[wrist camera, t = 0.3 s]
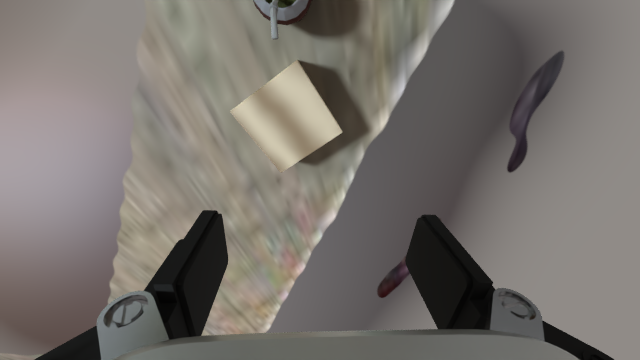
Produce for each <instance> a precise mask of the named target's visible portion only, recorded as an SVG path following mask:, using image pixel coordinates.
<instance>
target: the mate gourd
mask: <svg viewBox="0 0 640 360" xmlns="http://www.w3.org/2000/svg"><path fill="white" fill-rule="evenodd" d="M311 1H312V0H253V2H254V4H255V6H256V8H257V9H258V10H259V11H260V13H261V14H262V15H263V16H264V17H265V18H267V19H268V20H270V21H271V32H272V39H278V27H277V24H283V25H289V24H292V23H295V22H298V21H300V20H301V19H302V18H303V17H304V16H305V14H306V13H307V11H308V9H309V6H310V4H311Z"/></svg>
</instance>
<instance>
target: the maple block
mask: <svg viewBox="0 0 640 360" xmlns="http://www.w3.org/2000/svg"><path fill="white" fill-rule="evenodd" d="M230 112H231V114H232V115H233V116H234V117H235V118H236V120H237V121H238V122H239V123H240V124H241V126H242V127H243V128H244V129H245V130H246V131H247V133H248V134H249V135H250V136H251V137H252V139H253V140H254V141H255V142H256V143H257V145H258V146H259V147H260V148H261V149H262V151H263V152H264V153H265V154H266V155H267V157H268V158H269V159H270V160H271V161H272V163H273V164H274V165H275V166H276V167H277V169H278V170H279V171H280V172H281V173H282V172H283V171H285V170H286V169H288V168H289V167H291V166H292V165H294V164H295V163H297V162H298V161H300V160H301V159H303V158H304V157H306V156H307V155H309V154H310V153H312V152H314V151H315V150H317V149H318V148H320V147H321V146H323V145H324V144H326V143H327V142H329V141H330V140H332V139H333V138H335V137H336V136H338V135H339V134H341V133H342V130H341V128H340V126H339V124H338V123H337V121H336V119H335V118H334V116H333V115H332V113H331V112H330V110H329V108H328V107H327V105H326V104H325V102H324V100H323V99H322V97H321V96H320V94H319V93H318V91H317V89H316V88H315V86H314V85H313V83H312V82H311V80H310V78H309V77H308V75H307V74H306V72H305V70H304V69H303V67H302V66H301V64H300V63H299V61H298V60H296V61H295V62H294V63H293V64H291V65H290V66H289V67H287V68H286V69H285V70H283V71H282V72H281V73H279V74H278V75H277V76H276V77H274V78H273V79H272V80H270V81H269V82H268V83H266V84H265V85H264V86H262V87H261V88H260V89H259V90H257V91H256V92H255V93H253V94H252V95H251V96H249V97H248V98H247V99H246V100H244V101H243V102H242V103H240V104H239V105H238V106H236V107H235V108H234V109H232V110H231V111H230Z"/></svg>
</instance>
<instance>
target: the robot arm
mask: <svg viewBox="0 0 640 360" xmlns="http://www.w3.org/2000/svg"><path fill="white" fill-rule="evenodd" d="M227 264H228V253H227V246H226V239H225V232H224V225H223V218H222V214H218V212H217V211H212V210H204V211H202V212H201V214H200V215H199V217H198V218H197V220H196V221H195V223H194V224H193V226H192V227H191V229H190V230H189V232H188V233H187V235H186V236H185V238H184V239H181V240H179V241H178V242H177V243H176V245H175V246H174V248H173V249H172V251H171V252H170V254H169V255H168V256H167V258H166V259H165V261H164V262H163V264H162V265H161V267H160V268H159V269H158V271H157V272H156V274H155V275H154V277H153V278H152V280H151V281H150V282H149V284H148V285H147V287H146V288H145V290H144V291H135V292H130V293H127V294H125V295H122V296H121V297H119V298H117V299H115V300H114V301H112V302H111V303H110V304H109V305H107V306H106V307H105V309H104V310H103V311H102V312H101V313H100V316H99V317H98V319H97V326H95V327H93V328H91V329H89V330H88V331H86V332H84V333H82V334H80V335H78V336H77V337H75V338H73V339H71V340H70V341H68V342H66V343H64V344H62V345H61V346H58V347H57V348H55V349H53V350H51V351H50V352H48V353H46V354H44V355H42V356H40V357H38V358H37V359H35V360H614V359H613V358H611V357H609V356H608V355H606V354H604V353H603V352H601V351H599V350H597V349H595V348H593V347H591V346H590V345H587V344H586V343H584V342H582V341H580V340H578V339H576V338H574V337H573V336H571V335H569V334H567V333H565V332H563V331H561V330H559V329H557V328H556V327H554V326H552V325H550V324H548V323H546V322H544V321H542V316H541V314H540V311H539V310H538V308H537V307H536V306H535V305H534V304H533V303H532V302H531V301H530V300H529V299H528V298H526V297H525V296H523V295H522V294H520V293H518V292H516V291H513V290H510V289H506V288H498V289H496V290H495V289H494V287H493V286H492V284H493V282H492V281H491V279H490V278H489V277H488V276H487V275H486V274H485V272H484V271H483V270H482V269H481V268H480V266H479V265H478V264H477V263H476V262H475V261H474V260H473V258H472V257H471V256H470V255H469V254H468V252H467V251H466V250H465V249H464V248H463V247H462V245H461V244H460V243H459V242H458V241H457V239H456V238H455V237H454V236H453V235H452V234H451V233H450V231H449V230H448V229H447V228H446V227H445V225H444V224H443V223H442V222H441V221H440V219H439V218H438V217H437V216H436V215H422V216H421V218H418V220H417V223H416V226H415V229H414V233H413V236H412V239H411V242H410V246H409V249H408V252H407V256H406V266H407V268H408V270H409V272H410V274H411V276H412V278H413V280H414V282H415V284H416V286H417V288H418V290H419V292H420V294H421V296H422V298H423V300H424V301H425V304H426V306H427V308H428V310H429V312H430V314H431V316H432V318H433V320H434V322H435V324H436V326H437V328H438V329H429V330H378V331H377V330H375V331H331V332H330V331H328V332H291V333H255V334H230V335H208V336H201V334H202V332H203V329H204V326H205V324H206V321H207V318H208V316H209V313H210V310H211V308H212V305H213V302H214V300H215V297H216V294H217V292H218V289H219V286H220V283H221V281H222V278H223V275H224V273H225V270H226V267H227Z"/></svg>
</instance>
